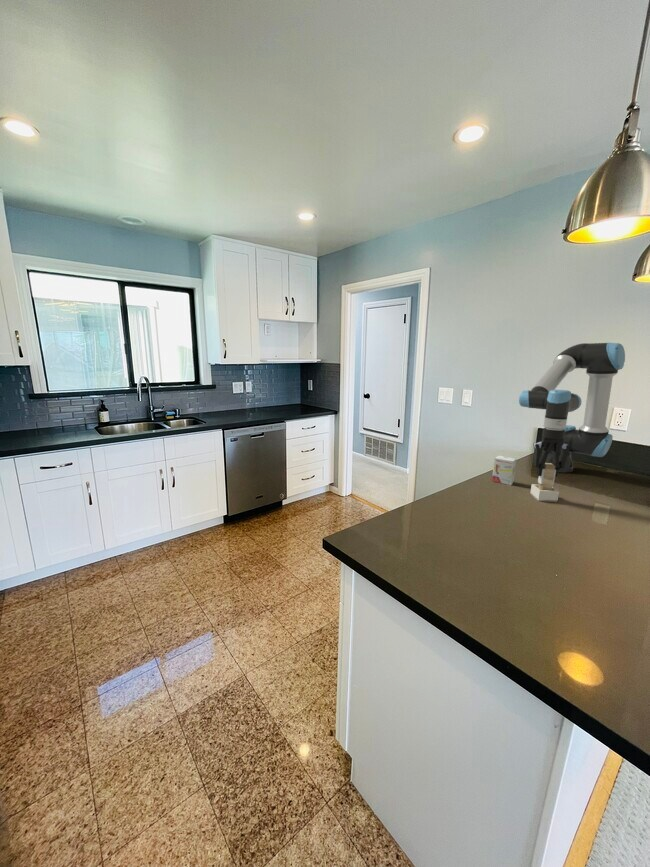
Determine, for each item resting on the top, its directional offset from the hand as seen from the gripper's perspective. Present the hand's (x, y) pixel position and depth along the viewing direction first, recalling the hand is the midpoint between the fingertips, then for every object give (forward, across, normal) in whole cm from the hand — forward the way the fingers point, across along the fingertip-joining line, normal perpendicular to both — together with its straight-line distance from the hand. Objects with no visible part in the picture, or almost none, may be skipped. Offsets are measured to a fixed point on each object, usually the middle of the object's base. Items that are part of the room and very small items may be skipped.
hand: (545, 483), depth 146 cm
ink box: (+7, -10, +18) cm, 22 cm away
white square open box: (+6, 0, 0) cm, 6 cm away
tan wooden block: (+4, 0, 0) cm, 4 cm away
